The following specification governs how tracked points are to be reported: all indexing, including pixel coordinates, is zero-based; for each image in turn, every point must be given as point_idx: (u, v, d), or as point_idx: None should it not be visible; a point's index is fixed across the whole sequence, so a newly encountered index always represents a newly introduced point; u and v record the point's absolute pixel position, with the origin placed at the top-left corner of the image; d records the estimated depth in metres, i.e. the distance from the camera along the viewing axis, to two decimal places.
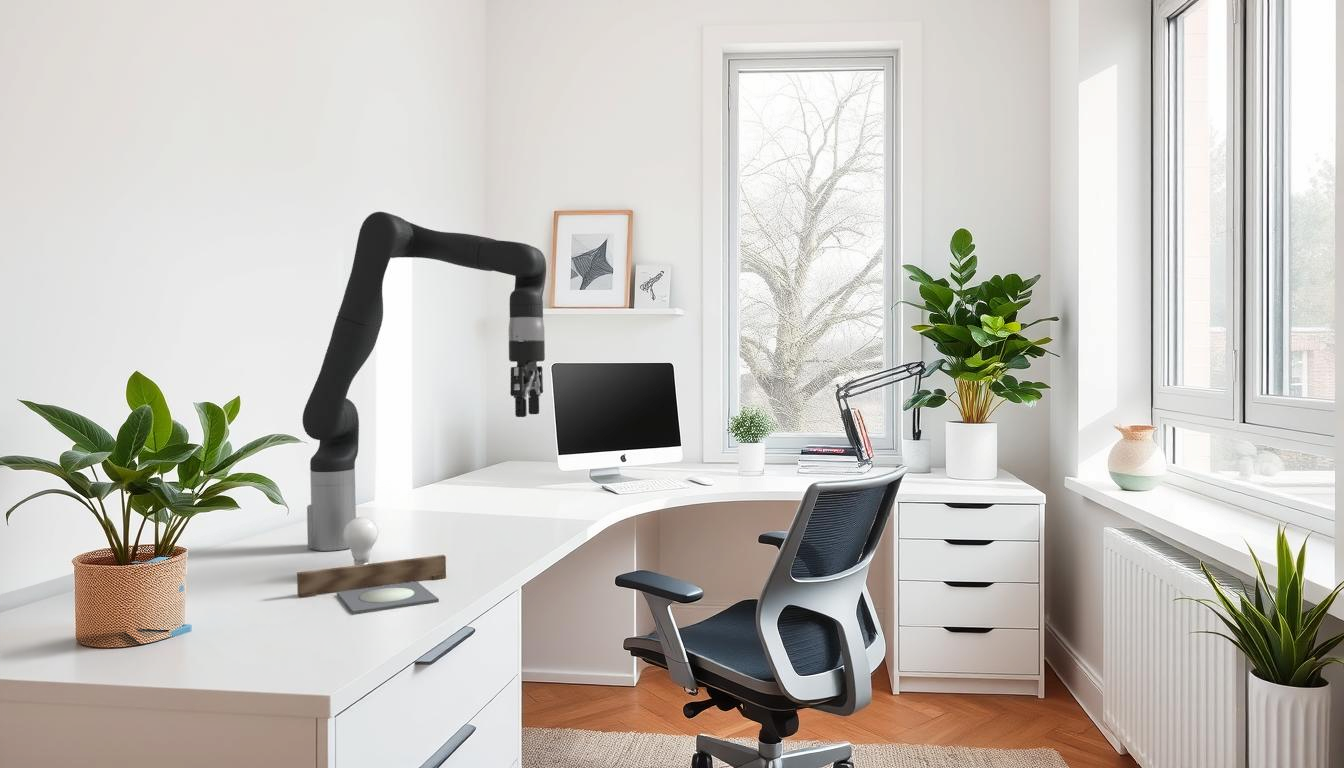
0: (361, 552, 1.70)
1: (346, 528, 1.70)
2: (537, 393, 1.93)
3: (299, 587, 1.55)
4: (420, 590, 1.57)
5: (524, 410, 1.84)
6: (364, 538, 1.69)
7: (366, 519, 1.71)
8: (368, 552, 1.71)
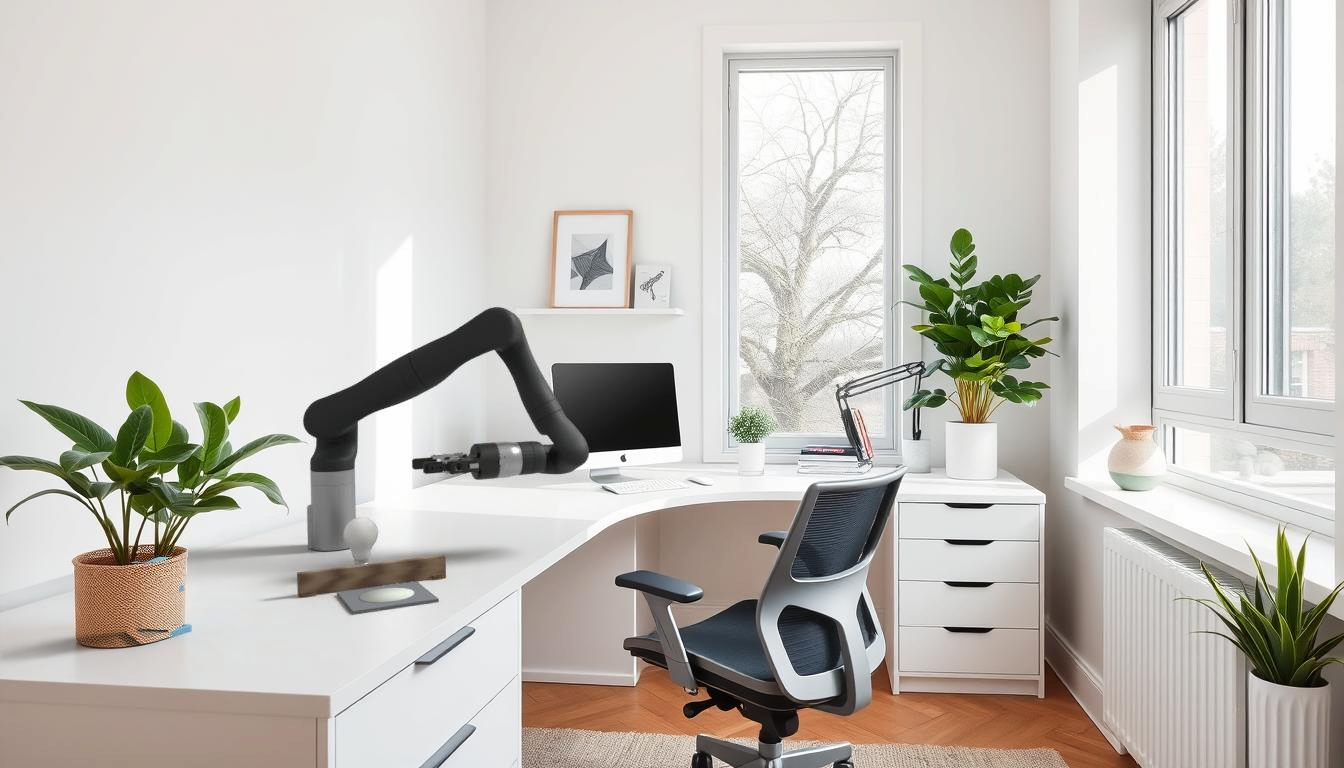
0: (361, 552, 1.70)
1: (346, 528, 1.70)
2: None
3: (299, 587, 1.55)
4: (420, 590, 1.57)
5: (431, 472, 1.74)
6: (364, 538, 1.69)
7: (366, 519, 1.71)
8: (368, 552, 1.71)
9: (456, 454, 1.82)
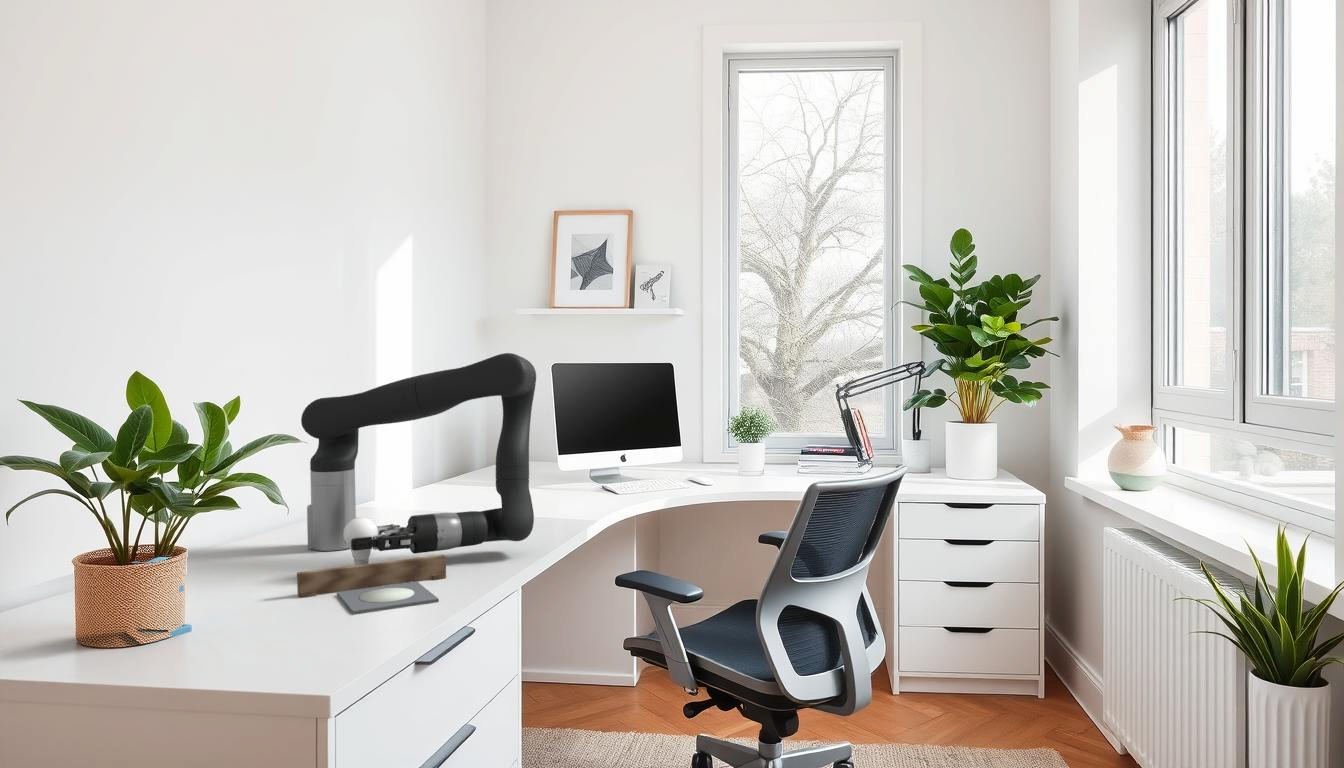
0: (361, 552, 1.70)
1: (346, 528, 1.70)
2: None
3: (299, 587, 1.55)
4: (420, 590, 1.57)
5: (359, 548, 1.68)
6: None
7: (366, 519, 1.71)
8: (368, 552, 1.71)
9: (393, 527, 1.76)
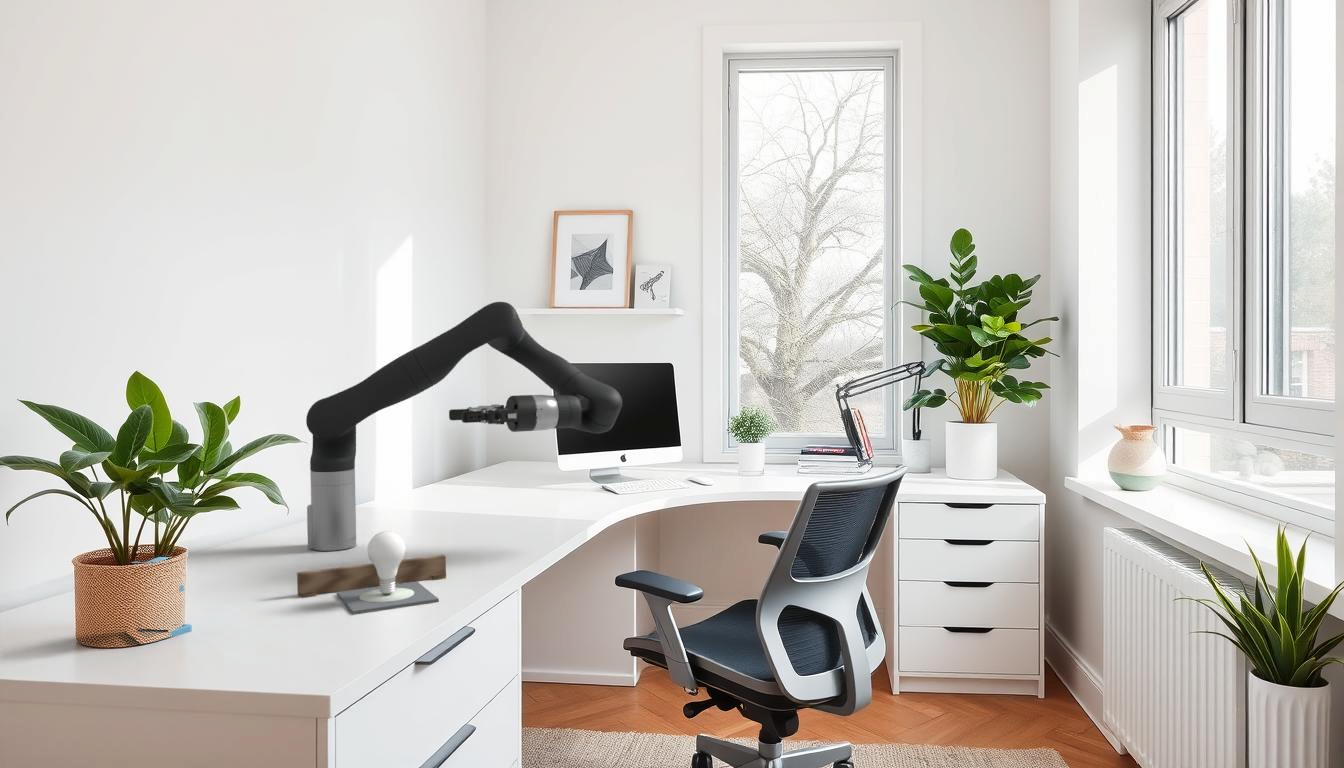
0: (387, 570, 1.52)
1: (371, 544, 1.52)
2: None
3: (299, 587, 1.55)
4: (420, 590, 1.57)
5: (469, 421, 1.74)
6: (391, 555, 1.51)
7: (393, 533, 1.53)
8: (395, 570, 1.53)
9: (493, 406, 1.83)
